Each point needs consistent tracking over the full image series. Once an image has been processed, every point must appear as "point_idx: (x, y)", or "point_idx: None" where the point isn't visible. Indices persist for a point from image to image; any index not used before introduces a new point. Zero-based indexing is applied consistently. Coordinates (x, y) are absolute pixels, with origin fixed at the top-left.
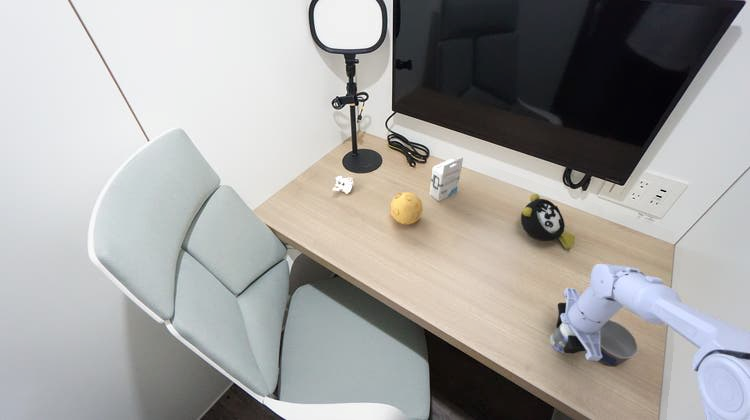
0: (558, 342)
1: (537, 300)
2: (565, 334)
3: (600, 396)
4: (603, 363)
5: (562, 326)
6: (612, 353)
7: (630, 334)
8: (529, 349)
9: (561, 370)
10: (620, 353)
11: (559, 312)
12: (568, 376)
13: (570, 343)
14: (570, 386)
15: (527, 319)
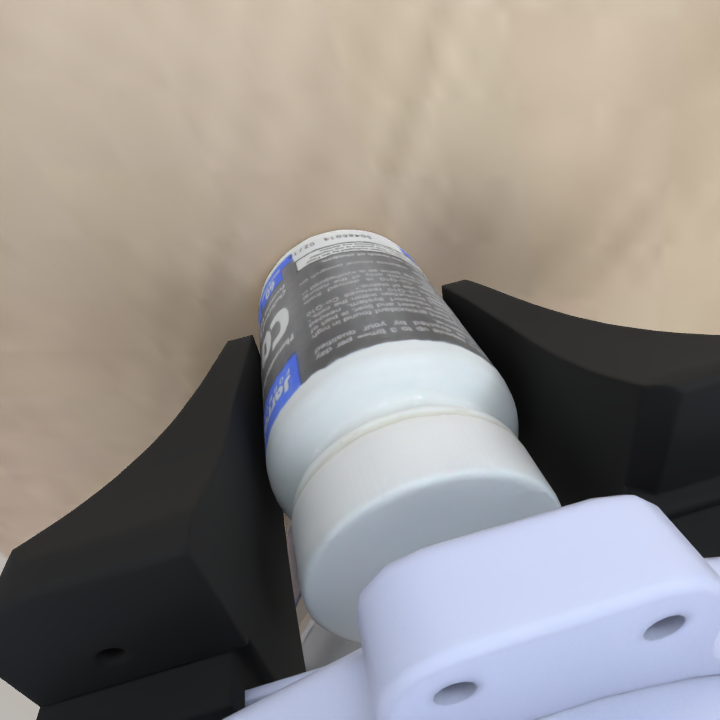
0: (288, 302)
1: (702, 125)
2: (322, 407)
3: (67, 508)
4: (286, 517)
5: (429, 374)
6: (305, 641)
7: None
8: (162, 13)
9: (106, 310)
10: (324, 664)
11: (637, 354)
12: (86, 355)
13: (32, 575)
14: (9, 367)
15: (509, 6)
